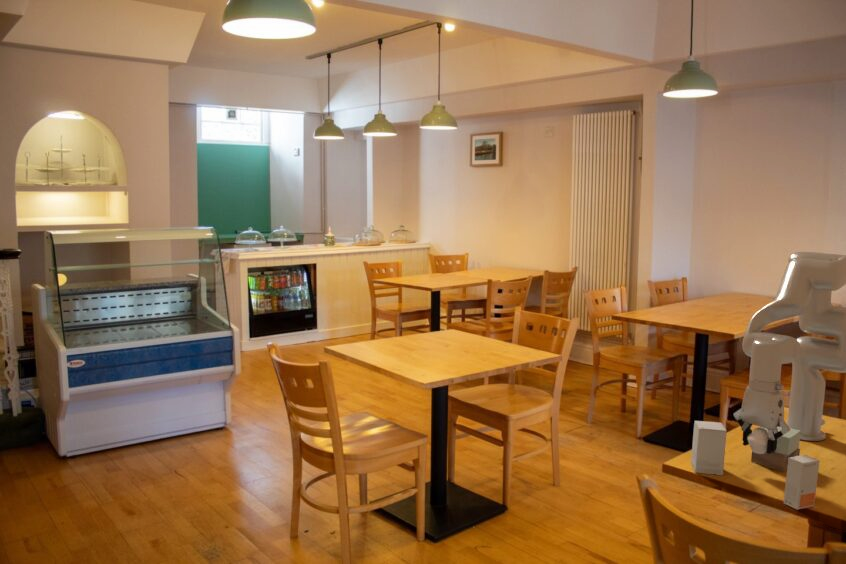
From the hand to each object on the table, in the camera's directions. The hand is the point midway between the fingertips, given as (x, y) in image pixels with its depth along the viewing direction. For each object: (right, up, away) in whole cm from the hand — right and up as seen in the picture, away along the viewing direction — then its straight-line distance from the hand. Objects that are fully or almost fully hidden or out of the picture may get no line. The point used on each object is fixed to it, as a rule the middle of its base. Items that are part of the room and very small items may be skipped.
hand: (758, 447), depth 199 cm
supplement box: (-13, -7, +2) cm, 15 cm away
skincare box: (+1, -10, -19) cm, 22 cm away
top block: (+8, -2, +7) cm, 11 cm away
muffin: (0, -1, 0) cm, 1 cm away
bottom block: (+8, -6, +8) cm, 13 cm away
